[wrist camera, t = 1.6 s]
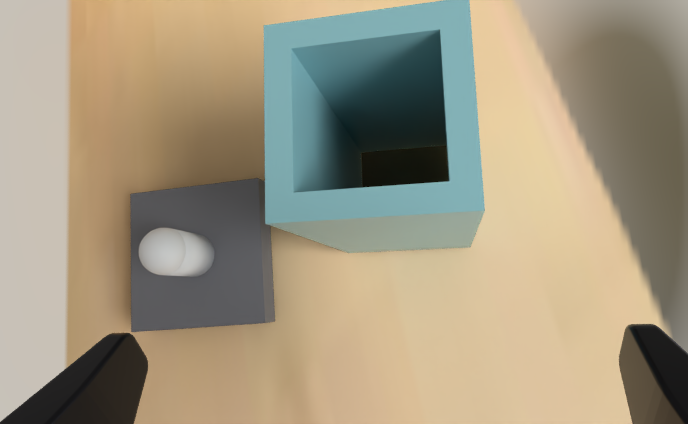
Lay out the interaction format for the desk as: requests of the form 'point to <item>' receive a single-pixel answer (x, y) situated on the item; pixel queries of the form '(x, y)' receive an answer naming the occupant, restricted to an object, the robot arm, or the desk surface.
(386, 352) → the desk surface
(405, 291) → the desk surface
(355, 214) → the teal sleeve
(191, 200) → the dark grey square plate
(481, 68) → the desk surface
